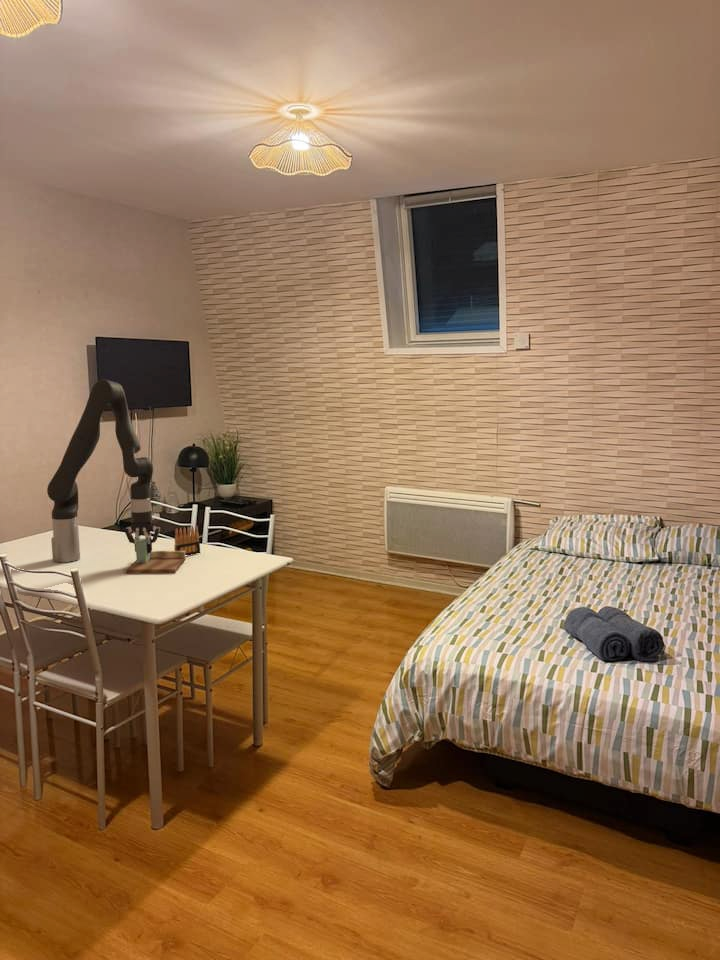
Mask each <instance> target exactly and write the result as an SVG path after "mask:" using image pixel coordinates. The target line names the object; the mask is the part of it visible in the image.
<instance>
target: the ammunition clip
mask: <svg viewBox="0 0 720 960" xmlns="http://www.w3.org/2000/svg"><path fill="white" fill-rule="evenodd" d="M199 538H200V537H199V529H198V525H197V524H196V525H195V527H194V525H191V528H190V526H187V529H186V527H185V526H184V527H183V530H182V527H179V530H178V528H176V527H175V532H174V551H185V555H190V556H192V555H191V554H195V555H197V554H196V553H200V554H201V545H200V539H199Z"/></svg>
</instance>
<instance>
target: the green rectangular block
mask: <svg viewBox="0 0 720 960" xmlns="http://www.w3.org/2000/svg"><path fill="white" fill-rule="evenodd" d="M147 544H148V543H147V540H146V538H145V537H144V538H140V539H139V540H138V541H137V542H136V543H135V544H134V546H135V545H136V552H135V556H136V558H135V559H136V560H137V563H147V561H148V560H149V559H150V553H147Z"/></svg>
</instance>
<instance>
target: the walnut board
mask: <svg viewBox="0 0 720 960" xmlns="http://www.w3.org/2000/svg"><path fill="white" fill-rule="evenodd" d="M185 560H186V556H185V551H175V550H152V551H151V552H150V559H149V560H148V561H147V563H137V559H136V560H135V561H133V563H132V564H131V565H129V566H128V567H127V568H126V569H125V574H176V573H177V572H178V570H180V568H181V567H182V566H181V565H183V564H184V563H185V562H186V561H185ZM184 561H185V562H184ZM180 566H181V567H180ZM176 571H177V572H176Z"/></svg>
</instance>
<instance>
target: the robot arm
mask: <svg viewBox="0 0 720 960" xmlns="http://www.w3.org/2000/svg"><path fill="white" fill-rule="evenodd" d="M107 406H109V408H110V409H111V411H112V413H113V416H114V421H115V422H114V423H115V424H114V425H115V427H114V428H115V429H114V431H115V437H116V440H117V443H118V445H119V448H120V450H121V453H122V463H123V464H122V466H123V471H124V472H125V474H126V475H127V476H128V477H129V478H137V480H136V481H135V482H133V483H131V485H130V487H129V491H130V515H131V516H130V519H131V524H130V526H127V527H125V528H124V529H123V530H124V533H125V535H126V538H127V540H128V542H129V543H130V544H131V543H132V544H134V552H135V553H136V545H135V543H136V542H137V541H138V540H139V539H141V537H142V536H144V538H146V540H147V543H148V544H147V553H150V552H151V551H153V543H155V542H157V540H158V537H159V535H160V532H161V527H160V526H155V524H154V523H153V515H152V514H153V513H152V512H153V511H152V509H153V508H152V501H151V491H150V490H151V489H150V486H151V482H152V479H153V478H152V477H153V472H154V464H153V462H152V460H151V459H150V458H149V457H147V456H146V457H145V456H143V457H142V456H141V457H135V454H137V453H139V452H140V451H141V444H140V440H139V438H138V436H137V434H136V431H135V429H134V425H133V423H132V420H131V416H130V411H129V408H128V402H127V399H126V393H125V390H124V388H123V386H122V385H121V384H120V383H119V382H116V381H113V380H109V379H98V380H97V381H96V382H95V383H94V384H93V385H92V387H91V390H90V393H89V395H88V398H87V401H86V405H85V408H84V410H83V412H82V414H81V417H80V419H79V422H78V423H77V426H76V428H75V430H74V432H73V434H72V436H71V438H70V441H69V443H68V445H67V448H66V450H65V452H64V455H63V457H62V459H61V463H60V465H59V466H58V468H57V470H56V471H55V473H54V475H53V477H52V478H51V479H50V481H49V483H48V484H47V489H46V490H47V496H48V498H49V499H50V501H53V508H52V510H51V520H52V522H51V523H52V537H51V553H52V562H55V561H57V562H56V563H71V562H70V561H73V562H76V561H75V560H77V561H78V559H79V560H80V559H81V550H80V536H79V535H80V533H79V532H80V531H79V519H78V510H79V488H78V483H77V481H76V479H77V477H78V474H79V473H80V471H81V470H82V468H84V466H85V464H87V462H88V461H89V460H90V457H91V456H92V454H93V452H94V451H95V449H96V447H97V445H98V443H99V441H100V437H101V418H102V415H103V413H104V411H105V409H106V407H107ZM132 531H133V533H134V535H133V533H132ZM152 531H153V532H154V533H153V535H152V534H151V532H152Z"/></svg>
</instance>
